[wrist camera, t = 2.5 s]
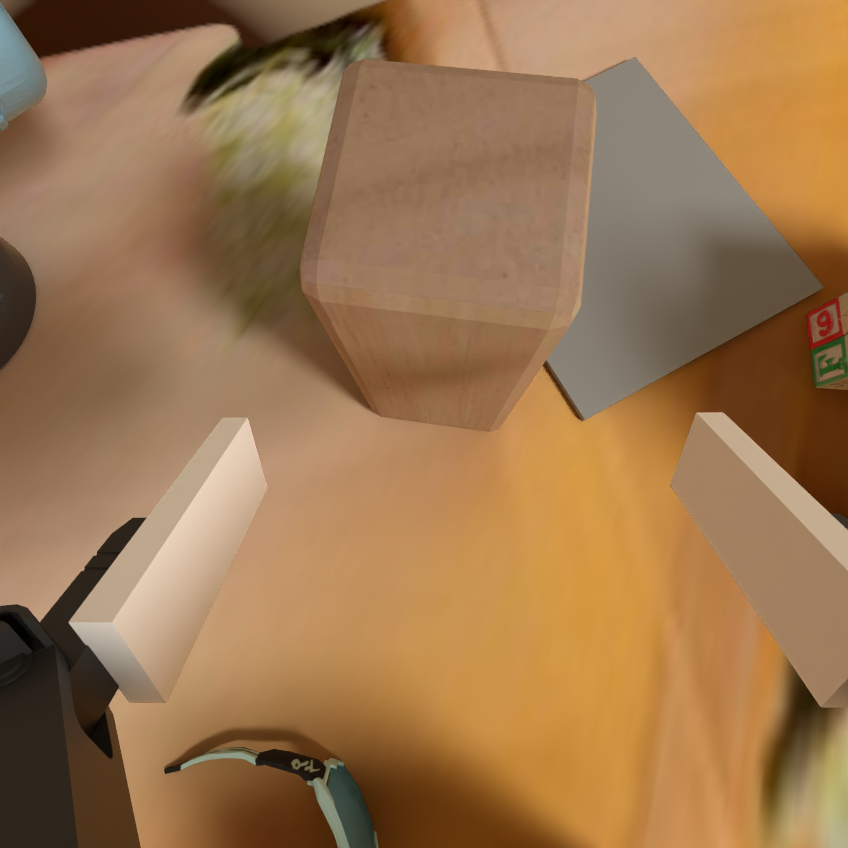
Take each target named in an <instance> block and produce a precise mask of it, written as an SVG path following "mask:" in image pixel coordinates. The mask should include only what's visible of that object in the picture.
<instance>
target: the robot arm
mask: <svg viewBox="0 0 848 848" xmlns="http://www.w3.org/2000/svg"><path fill="white" fill-rule="evenodd" d="M46 87H47V77H46V73H45V70H44V67H43V65H42V63H41V62H40V60H39V58H38V57H37V55H36V54H35V52H34V51H33V49H32V48H31V46H30V45H29V43H28V42H27V40H26V39H25V37H24V36H23V35H22V33H21V32H20V31H19V29H18V27H17V26H16V24H15V23H14V22H13V20H12V19H11V17H10V16H9V15H8V13H7V11H6V10H5V9H4V7H3V6H2V4H1V3H0V131H4V130H5V129H6V128H8V126H9V122H10V121H11V120H13V119H14V118H16V117H17V116H19V115H20V114H22V113H23V112H25V111H26V110H28V109H30V108H31V107H33V106H34V105H36V104H37V103H39V102H40V101H41V100H42V98H43V97H44V95H45V93H46ZM35 298H36V293H35V284H34V279H33V276H32V273H31V270H30V268H29V266H28V264H27V262H26V261H25V259H24V258H23V257H22V255H21V254H20V253H19V252H18V251H17V250H16V249H15V248H14V247H12V246H11V245H10V244H8V243H7V242H5V241H4V240H2V239H0V368H2V367H3V366H4V365H5V364H6V363H7V361H8V360H9V359H10V358H11V357H12V356H13V354H14V353H15V352H16V350H17V349H18V348H19V346H20V345H21V343H22V341H23V340H24V338H25V336H26V334H27V332H28V329H29V327H30V324H31V321H32V318H33V314H34V309H35ZM670 486H671V488H672V489H673V491H674V492H675V494H676V495H677V497H678V498H679V500H680V501H681V503H682V504H683V505H684V507H685V508H686V510H687V511H688V513H689V514H690V516H691V517H692V519H693V520H694V522H695V523H696V525H697V526H698V528H699V529H700V530H701V532H702V533H703V535H704V536H705V538H706V539H707V541H708V542H709V544H710V545H711V547H712V548H713V550H714V551H715V553H716V554H717V555H718V557H719V558H720V560H721V561H722V563H723V564H724V566H725V567H726V569H727V570H728V572H729V573H730V575H731V576H732V577H733V579H734V580H735V582H736V583H737V585H738V586H739V588H740V589H741V591H742V592H743V594H744V595H745V597H746V598H747V600H748V601H749V602H750V604H751V605H752V607H753V608H754V610H755V611H756V613H757V614H758V616H759V617H760V619H761V620H762V622H763V623H764V624H765V626H766V627H767V629H768V630H769V632H770V633H771V635H772V636H773V638H774V639H775V641H776V642H777V644H778V645H779V647H780V648H781V649H782V651H783V652H784V654H785V655H786V657H787V658H788V660H789V661H790V663H791V664H792V666H793V667H794V669H795V670H796V671H797V673H798V674H799V676H800V677H801V679H802V680H803V682H804V683H805V685H806V686H807V688H808V689H809V691H810V692H811V694H812V695H813V696H814V698H815V699H816V701H817V702H818V704H819V705H820V707H848V519H847V518H846V517H844V516H842V515H841V514H839V513H829V512H828V511H827V510H826V509H825V508H824V507H823V506H822V505H821V504H820V503H819V502H817V501H816V500H815V499H814V498H813V497H812V496H811V495H810V494H809V493H808V492H807V491H806V490H805V489H804V488H803V487H802V486H801V485H799V484H798V483H797V482H796V481H795V480H794V479H793V478H792V477H791V476H790V475H789V474H788V473H787V472H786V471H785V470H784V469H783V468H782V467H780V466H779V465H778V464H777V463H776V462H775V461H774V460H773V459H772V458H771V457H770V456H769V455H768V454H767V453H766V452H765V451H764V450H763V449H761V448H760V447H759V446H758V445H757V444H756V443H755V442H754V441H753V440H752V439H751V438H750V437H749V436H748V435H747V434H746V433H745V432H744V431H742V430H741V429H740V428H739V427H738V426H737V425H736V424H735V423H734V422H733V421H732V420H731V419H730V418H729V417H728V416H727V415H726V414H724V413H723V412H707V413H696V415H695V418H694V420H693V423H692V426H691V429H690V431H689V434H688V437H687V440H686V442H685V445H684V448H683V451H682V454H681V456H680V459H679V462H678V465H677V467H676V470H675V473H674V476H673V478H672V481H671V484H670ZM266 490H267V485H266V481H265V477H264V474H263V470H262V467H261V463H260V460H259V456H258V453H257V449H256V445H255V442H254V438H253V435H252V431H251V428H250V424H249V421H248V417H243V418H222V419H221V420H220V421H219V423H218V424H217V425H216V427H215V428H214V429H213V431H212V432H211V433H210V435H209V436H208V437H207V439H206V440H205V441H204V443H203V444H202V445H201V447H200V448H199V449H198V451H197V452H196V453H195V455H194V456H193V457H192V458H191V460H190V461H189V462H188V464H187V465H186V466H185V468H184V469H183V470H182V472H181V473H180V474H179V476H178V477H177V478H176V480H175V481H174V482H173V484H172V485H171V486H170V488H169V489H168V490H167V492H166V493H165V494H164V496H163V497H162V498H161V500H160V501H159V502H158V504H157V505H156V506H155V508H154V509H153V510H152V512H151V513H150V514H149V516H148V517H147V518H132V519H131V520H129V521H128V522H127V523H125V524H124V525H123V526H121V527H120V528H119V529H117V530H116V531H115V532H113V533H112V534H111V535H110V537H109V538H108V539H107V540H106V541H105V543H104V544H103V545H102V546H101V548H100V549H99V550H98V551H97V555H96V556H93V557H92V559H91V560H90V561H89V562H88V564H87V565H86V566H85V567H84V568H85V570H84V571H81V572H80V574H79V575H78V576H77V577H76V578H75V580H74V581H73V582H72V583H71V585H70V586H69V587H68V588H67V590H66V591H65V592H64V593H63V595H62V596H61V597H60V598H59V599H58V601H57V602H56V603H55V604H54V606H53V607H52V608H51V609H50V611H49V612H48V613H47V614H46V615H45V617H44V618H43V619H42V620H41V622H40V623H39V621H38V620H37V619H36V618H35V616H34V615H33V614H32V613H31V612H30V610H29V609H28V608H26V607H23V606H20V605H17V604H16V605H6V606H0V848H141V847H140V842H139V838H138V833H137V828H136V823H135V818H134V813H133V808H132V803H131V799H130V794H129V789H128V784H127V779H126V774H125V769H124V765H123V760H122V755H121V750H120V745H119V740H118V735H117V730H116V726H115V721H114V716H113V713H112V711H111V710H110V708H109V706H108V705H109V703H110V702H111V700H112V698H113V696H114V695H115V693H116V691H117V689H118V688H119V689H120V691H121V692H122V693H123V695H124V696H125V697H126V699H127V700H128V701H129V702H131V703H166V702H167V700H168V698H169V696H170V694H171V691H172V689H173V687H174V685H175V683H176V681H177V679H178V677H179V675H180V672H181V670H182V668H183V666H184V664H185V662H186V660H187V658H188V655H189V653H190V651H191V649H192V647H193V645H194V643H195V641H196V639H197V636H198V634H199V632H200V630H201V628H202V626H203V624H204V622H205V619H206V617H207V615H208V613H209V611H210V609H211V607H212V605H213V603H214V600H215V598H216V596H217V594H218V592H219V590H220V588H221V586H222V583H223V581H224V579H225V577H226V575H227V573H228V571H229V569H230V566H231V564H232V562H233V560H234V558H235V556H236V554H237V552H238V550H239V547H240V545H241V543H242V541H243V539H244V537H245V535H246V533H247V530H248V528H249V526H250V524H251V522H252V520H253V518H254V516H255V514H256V511H257V509H258V507H259V505H260V503H261V501H262V499H263V497H264V494H265V492H266Z"/></svg>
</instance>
